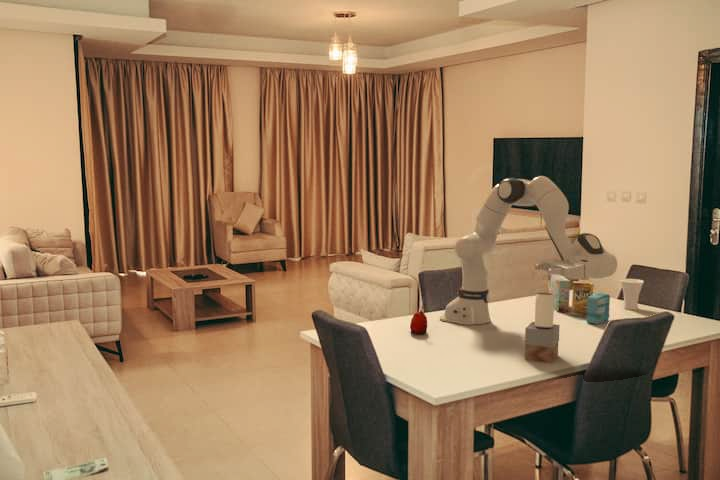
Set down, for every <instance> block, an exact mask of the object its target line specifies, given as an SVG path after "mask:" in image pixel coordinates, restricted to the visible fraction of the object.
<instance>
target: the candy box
mask: <svg viewBox="0 0 720 480" xmlns="http://www.w3.org/2000/svg"><path fill="white" fill-rule="evenodd" d="M594 285H595V284H594V281H593V282H592V281H578V280H573V282H572V298H571V300H572V301H571V302H572V303H571V315H572V316H579V317H587V299H588V297H589V296H591V295H594Z"/></svg>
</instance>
